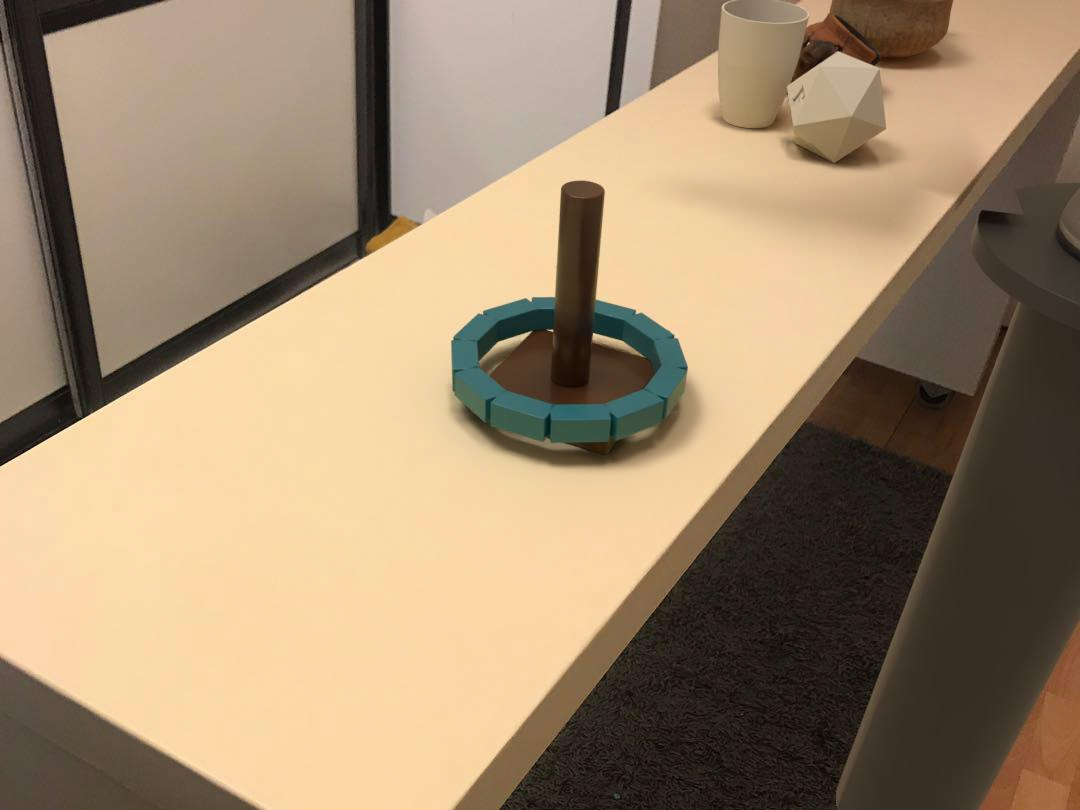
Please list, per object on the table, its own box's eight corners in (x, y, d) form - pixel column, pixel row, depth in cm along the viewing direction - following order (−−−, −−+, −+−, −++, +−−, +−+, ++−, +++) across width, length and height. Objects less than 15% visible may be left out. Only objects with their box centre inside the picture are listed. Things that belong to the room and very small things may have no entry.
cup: (799, 115, 107) (820, 7, 101) (773, 140, 102) (793, 28, 95) (723, 99, 110) (739, -7, 103) (694, 122, 104) (708, 12, 98)
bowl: (838, 5, 134) (880, -79, 126) (938, 58, 132) (985, -24, 125) (795, 39, 121) (838, -52, 114) (904, 97, 119) (955, 9, 112)
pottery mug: (779, 73, 118) (831, 5, 114) (842, 129, 118) (897, 63, 113) (750, 72, 108) (806, -2, 104) (819, 134, 108) (878, 62, 103)
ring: (711, 352, 69) (715, 330, 68) (631, 469, 59) (634, 446, 58) (514, 299, 73) (515, 277, 72) (408, 400, 63) (407, 377, 62)
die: (798, 132, 105) (766, 55, 98) (890, 95, 102) (864, 12, 94) (809, 195, 101) (776, 120, 94) (905, 158, 98) (879, 77, 90)
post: (660, 382, 69) (688, 177, 60) (606, 455, 62) (628, 239, 54) (535, 346, 71) (543, 145, 62) (471, 413, 65) (470, 200, 56)
